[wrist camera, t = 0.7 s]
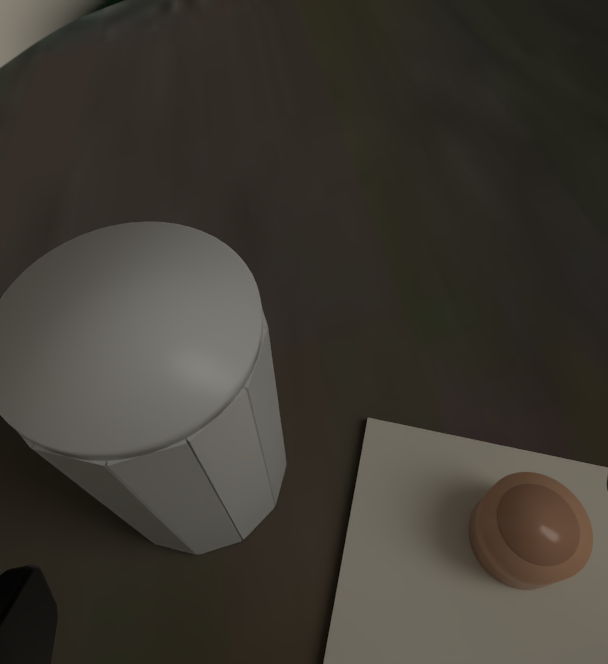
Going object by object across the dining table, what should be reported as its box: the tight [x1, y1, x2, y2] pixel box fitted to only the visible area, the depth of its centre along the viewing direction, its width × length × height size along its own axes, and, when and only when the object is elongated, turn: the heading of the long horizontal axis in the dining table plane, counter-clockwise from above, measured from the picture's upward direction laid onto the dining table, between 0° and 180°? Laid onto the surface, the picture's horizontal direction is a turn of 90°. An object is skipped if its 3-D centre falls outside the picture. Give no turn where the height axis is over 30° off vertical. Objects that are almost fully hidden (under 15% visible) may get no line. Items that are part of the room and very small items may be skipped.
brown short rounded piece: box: [468, 472, 593, 590], centre depth 20 cm, size 4×4×3 cm
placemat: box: [323, 418, 608, 664], centre depth 19 cm, size 16×16×1 cm
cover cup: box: [0, 222, 286, 555], centre depth 19 cm, size 7×7×12 cm
